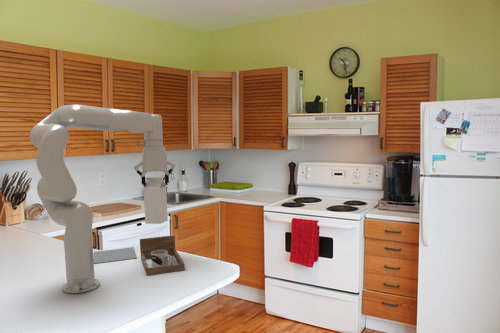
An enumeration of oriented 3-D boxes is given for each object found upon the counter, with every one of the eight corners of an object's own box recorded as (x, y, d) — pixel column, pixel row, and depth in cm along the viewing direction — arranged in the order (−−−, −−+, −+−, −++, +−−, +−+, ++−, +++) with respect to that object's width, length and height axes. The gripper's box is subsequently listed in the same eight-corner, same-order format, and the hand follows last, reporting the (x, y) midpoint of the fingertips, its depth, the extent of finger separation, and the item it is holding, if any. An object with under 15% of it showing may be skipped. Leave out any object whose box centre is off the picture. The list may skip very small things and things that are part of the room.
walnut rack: (184, 270, 174) (183, 248, 173) (146, 275, 169) (145, 253, 168) (175, 254, 195) (174, 235, 194) (140, 259, 190) (139, 239, 189)
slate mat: (136, 258, 191) (136, 257, 191) (93, 264, 186) (93, 263, 186) (133, 247, 208) (133, 247, 208) (93, 252, 203) (93, 251, 202)
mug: (148, 269, 177) (147, 253, 176) (159, 264, 183) (158, 248, 182) (168, 272, 172) (167, 256, 172) (178, 267, 178) (177, 251, 177)
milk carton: (161, 224, 180) (159, 178, 179) (145, 223, 182) (142, 178, 180) (167, 220, 187) (165, 176, 186) (152, 220, 189) (150, 176, 187)
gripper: (133, 145, 176) (134, 187, 177) (176, 143, 181) (177, 185, 183) (131, 144, 183) (133, 185, 184) (173, 143, 188) (174, 183, 190)
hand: (155, 185), depth 183 cm, fingers closed on milk carton, 8 cm apart
